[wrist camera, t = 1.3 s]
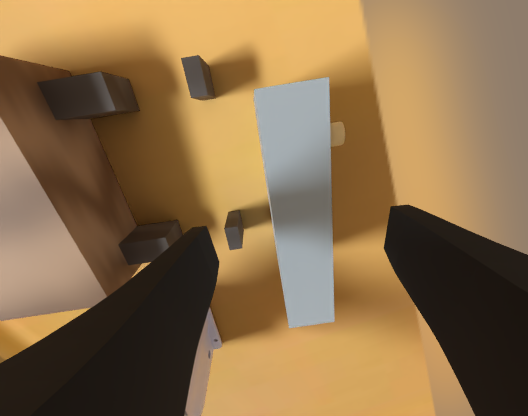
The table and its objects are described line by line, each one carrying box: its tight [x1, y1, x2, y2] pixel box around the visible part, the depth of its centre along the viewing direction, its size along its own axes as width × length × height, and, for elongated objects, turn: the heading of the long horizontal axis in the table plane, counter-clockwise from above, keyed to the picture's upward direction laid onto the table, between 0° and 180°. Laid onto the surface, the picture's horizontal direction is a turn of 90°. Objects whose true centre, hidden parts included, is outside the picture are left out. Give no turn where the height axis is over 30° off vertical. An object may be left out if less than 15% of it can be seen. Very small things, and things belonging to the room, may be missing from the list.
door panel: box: [254, 77, 345, 328], centre depth 15 cm, size 14×4×8 cm, turn 8°
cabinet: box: [0, 55, 244, 321], centre depth 15 cm, size 15×17×6 cm
